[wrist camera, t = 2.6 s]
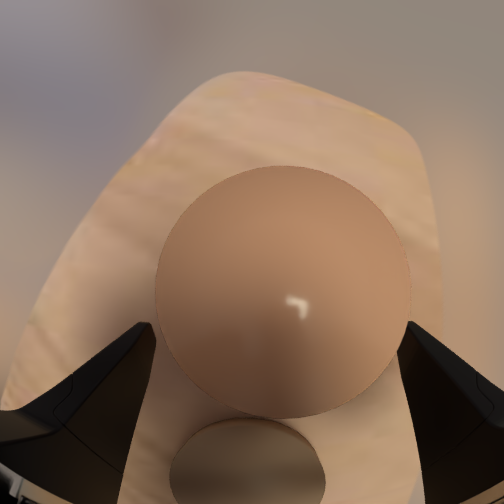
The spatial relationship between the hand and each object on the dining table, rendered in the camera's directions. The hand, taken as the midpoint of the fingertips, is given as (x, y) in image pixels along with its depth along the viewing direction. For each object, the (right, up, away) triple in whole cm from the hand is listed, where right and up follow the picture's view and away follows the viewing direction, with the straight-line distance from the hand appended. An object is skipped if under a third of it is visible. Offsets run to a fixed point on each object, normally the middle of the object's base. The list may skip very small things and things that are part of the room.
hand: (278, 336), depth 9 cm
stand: (-1, -13, +5) cm, 14 cm away
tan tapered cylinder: (+1, -2, +9) cm, 9 cm away
